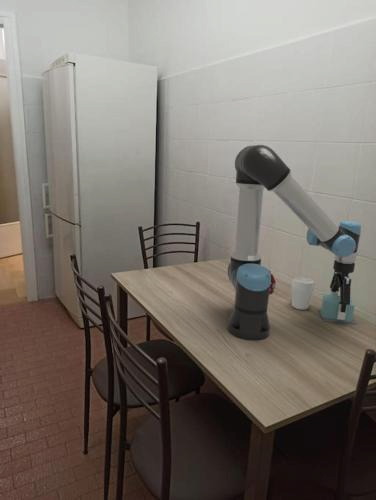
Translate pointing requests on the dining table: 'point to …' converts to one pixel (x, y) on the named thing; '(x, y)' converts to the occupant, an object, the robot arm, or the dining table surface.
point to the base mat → (335, 320)
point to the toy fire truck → (272, 284)
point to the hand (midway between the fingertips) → (336, 312)
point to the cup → (301, 292)
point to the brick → (335, 307)
